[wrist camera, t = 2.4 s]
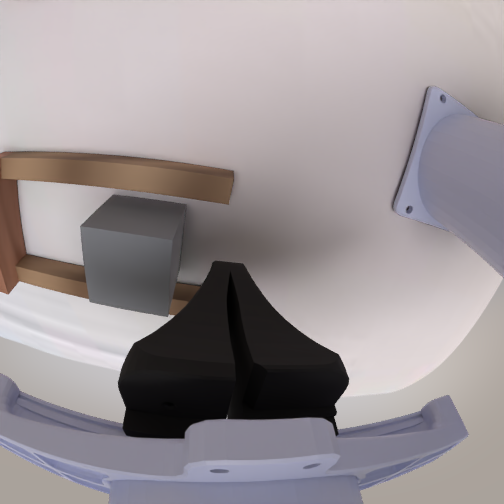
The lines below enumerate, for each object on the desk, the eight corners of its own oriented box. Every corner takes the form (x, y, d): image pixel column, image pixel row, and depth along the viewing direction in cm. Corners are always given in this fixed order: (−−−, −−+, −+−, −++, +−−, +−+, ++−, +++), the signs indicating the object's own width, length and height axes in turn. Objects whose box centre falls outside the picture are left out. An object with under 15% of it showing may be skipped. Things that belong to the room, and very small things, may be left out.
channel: (233, 171, 13) (234, 189, 10) (208, 303, 17) (206, 339, 14) (4, 152, 11) (-28, 166, 8) (18, 265, 14) (-3, 290, 12)
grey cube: (186, 203, 14) (172, 240, 10) (179, 269, 16) (167, 316, 12) (114, 194, 13) (80, 226, 10) (114, 258, 15) (89, 301, 12)
